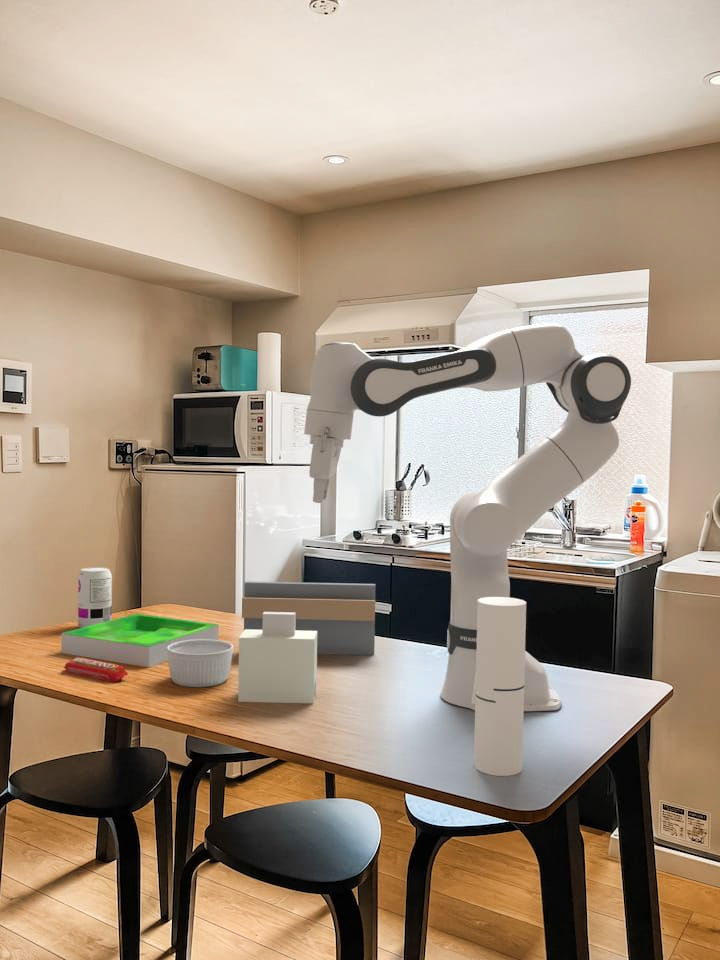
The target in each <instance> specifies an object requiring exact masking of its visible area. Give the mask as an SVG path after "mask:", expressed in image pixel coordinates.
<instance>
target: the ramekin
mask: <svg viewBox="0 0 720 960" xmlns="http://www.w3.org/2000/svg"><path fill="white" fill-rule="evenodd" d="M233 654H234V645H233V643H231V642H228V641H225V640H219V639H218V640H209V639H197V640H186V641H180V642H176V643H173V644H170V645H169V646H168V647H167V655H168V661H167V662H168V667H169V668H168V669H169V676H170V678H171V680H172V682H174V683H175V684H176V685H177V686H181V687H188V688H208V687H214V686H217V685H221V684H224V683H225V682H226V681H227V679H228V678H229V676H230V673H231V667H232V657H233Z"/></svg>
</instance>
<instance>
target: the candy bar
mask: <svg viewBox="0 0 720 960" xmlns="http://www.w3.org/2000/svg"><path fill="white" fill-rule="evenodd" d="M63 669H65V671H66V672H67V673H69V674H74V675H78V676H84V677H87V678H91V679H95V680H101V681H106V682H109V683H110V682H111V683H117V682H119V681H120V680H121V679H122V678H124V677H125V676H128V675H129V674H128V672H127V671H126V670H125V668H124V667H123V665H120V664H119V665H118V664H115V663H110V662H104V661H100V660H94V659H90V658H86V657H78V656H76V657H74V658H72V659H70V660H69V661H67V662H66V663H65V665H64V667H63Z"/></svg>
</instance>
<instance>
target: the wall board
mask: <svg viewBox="0 0 720 960" xmlns="http://www.w3.org/2000/svg"><path fill="white" fill-rule="evenodd" d="M243 588H244V589H243V592H244V593H243V594H244V595H243V597H242V598H241V619H243V631H244V630H245V629H254V630H262V628H263V613H264V612H296V623H295V630H300V631H317V655H320V654H321V655H353V656H354V655H355V656H356V655H357V656H359V655H360V656H361V655H363V656H375V646H376V645H375V644H376V643H375V636H376V626H375V624H376V583H351V582H349V583H346V582H344V583H343V582H341V583H340V582H336V583H335V582H295V581H294V582H292V581H291V582H290V581H289V582H288V581H250V580H249V581H248V580H247V581H244V586H243Z"/></svg>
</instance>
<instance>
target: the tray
mask: <svg viewBox="0 0 720 960" xmlns="http://www.w3.org/2000/svg"><path fill="white" fill-rule="evenodd" d="M197 639H209V640H219V624H218V623H212V622H211V623H209V622H203V621H196V620H188V619H181V618H180V619H179V618H171V617H164V616H158V615H149V614H142V613H141V614H140V613H134V614H129V615H126V616H122V617H119V618H115V619H111V620H110V621H106V622H102V623H99V624H95V625H91V626H87V627H83V628H80V627H79V628H77V629H73V630H72V629H71V630H68V631H65V632H61V653H62V654H66V655H72V656H76V657H78V656H79V657H82V658H88V659H90V658H91V659H97V660H103V661H108V662H115V663H120V664H127V665H132V666H133V665H134V666H139V667H146V668H151V667H155V666H157V665H159V664H162V663H165V662H169V661H168V655H167V647H168V646H169V645H170V644H173V643H176V642H180V641H186V640H197Z"/></svg>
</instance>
